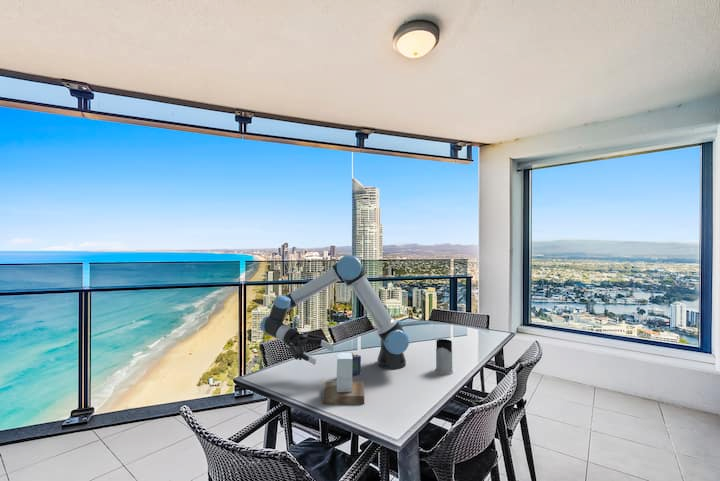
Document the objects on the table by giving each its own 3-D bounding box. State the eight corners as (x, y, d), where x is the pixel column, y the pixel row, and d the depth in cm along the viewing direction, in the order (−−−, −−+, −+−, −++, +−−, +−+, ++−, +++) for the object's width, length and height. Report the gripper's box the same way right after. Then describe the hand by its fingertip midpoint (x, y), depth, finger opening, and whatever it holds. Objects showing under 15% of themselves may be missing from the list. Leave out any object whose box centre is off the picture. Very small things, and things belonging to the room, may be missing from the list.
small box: (352, 392, 122) (352, 358, 123) (336, 392, 122) (336, 359, 123) (351, 384, 130) (352, 352, 131) (336, 384, 130) (337, 352, 131)
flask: (344, 378, 144) (345, 355, 145) (341, 376, 147) (342, 353, 147) (361, 374, 149) (361, 352, 149) (358, 372, 151) (358, 350, 152)
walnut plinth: (363, 388, 133) (363, 381, 133) (364, 404, 119) (364, 396, 119) (326, 388, 132) (326, 381, 133) (322, 403, 118) (322, 396, 119)
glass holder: (433, 372, 152) (433, 341, 153) (440, 364, 165) (439, 335, 166) (451, 375, 148) (451, 344, 149) (456, 366, 161) (456, 337, 162)
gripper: (303, 332, 157) (337, 350, 148) (268, 353, 136) (305, 375, 126) (305, 319, 156) (340, 336, 147) (270, 338, 134) (308, 359, 125)
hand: (324, 354), depth 137 cm, fingers open, 13 cm apart
